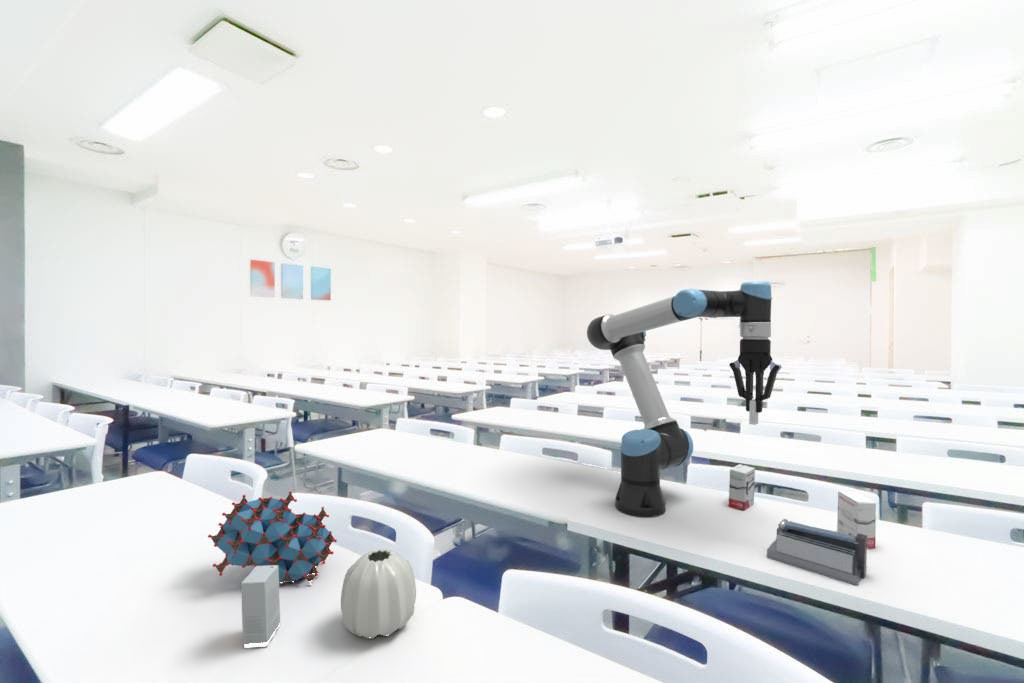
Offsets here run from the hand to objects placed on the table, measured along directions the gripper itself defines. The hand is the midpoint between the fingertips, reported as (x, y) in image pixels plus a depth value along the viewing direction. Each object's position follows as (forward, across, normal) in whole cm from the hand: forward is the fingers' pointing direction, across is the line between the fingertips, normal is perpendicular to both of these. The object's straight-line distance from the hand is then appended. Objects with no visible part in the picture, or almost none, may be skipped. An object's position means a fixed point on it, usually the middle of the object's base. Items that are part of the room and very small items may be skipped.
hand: (753, 423), depth 131 cm
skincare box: (+30, -49, -111) cm, 125 cm away
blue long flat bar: (+23, +17, -9) cm, 30 cm away
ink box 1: (+30, -8, +16) cm, 35 cm away
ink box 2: (+30, +22, +11) cm, 38 cm away
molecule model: (+30, -70, -101) cm, 126 cm away
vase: (+30, -37, -94) cm, 105 cm away
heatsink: (+29, +17, -9) cm, 35 cm away
